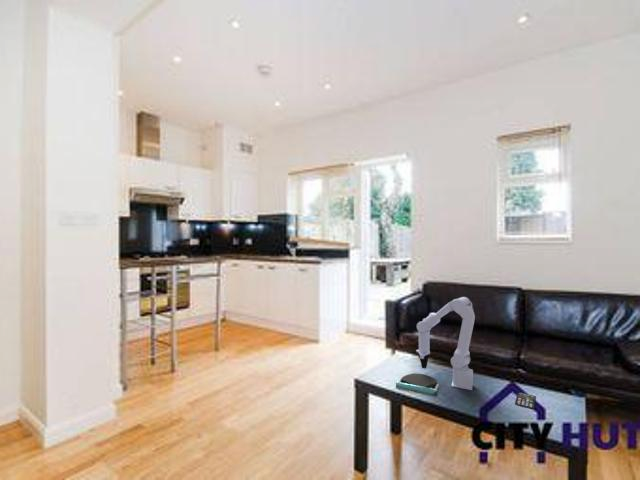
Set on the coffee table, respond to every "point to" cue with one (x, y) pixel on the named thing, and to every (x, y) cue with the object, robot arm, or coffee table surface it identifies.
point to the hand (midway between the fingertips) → (424, 367)
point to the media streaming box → (419, 380)
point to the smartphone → (525, 400)
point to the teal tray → (417, 387)
